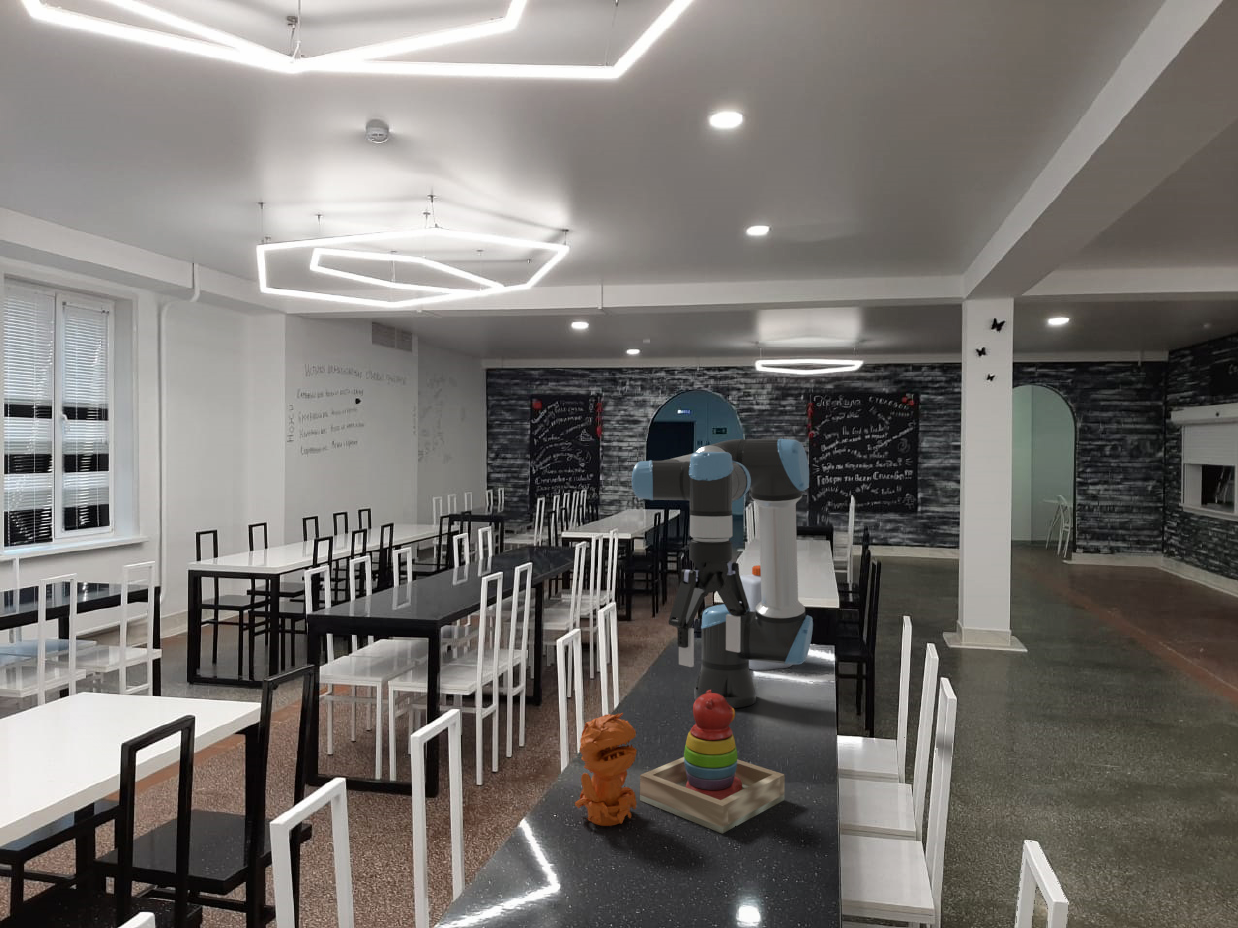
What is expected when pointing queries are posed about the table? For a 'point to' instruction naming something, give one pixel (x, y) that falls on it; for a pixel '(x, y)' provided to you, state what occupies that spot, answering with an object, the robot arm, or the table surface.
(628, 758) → the toy dinosaur
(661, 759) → the table surface
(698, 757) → the stacking bear
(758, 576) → the plastic bottle
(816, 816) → the table surface
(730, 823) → the open wooden box
